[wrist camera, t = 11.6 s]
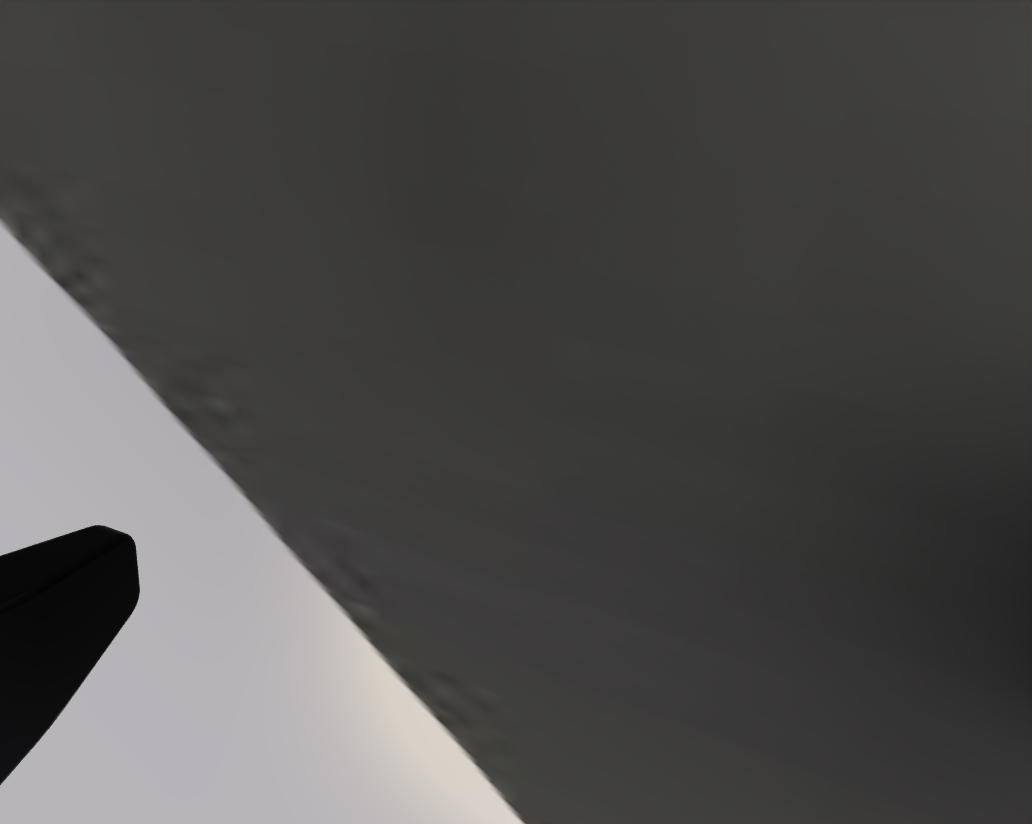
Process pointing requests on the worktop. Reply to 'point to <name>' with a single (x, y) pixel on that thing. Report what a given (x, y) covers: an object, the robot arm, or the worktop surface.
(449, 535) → the worktop surface
